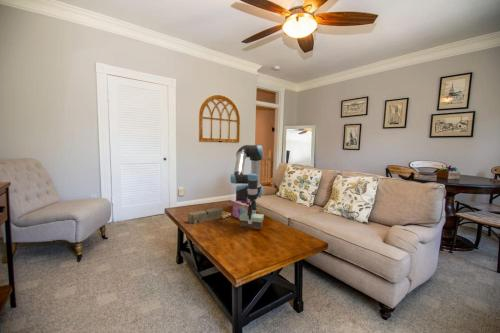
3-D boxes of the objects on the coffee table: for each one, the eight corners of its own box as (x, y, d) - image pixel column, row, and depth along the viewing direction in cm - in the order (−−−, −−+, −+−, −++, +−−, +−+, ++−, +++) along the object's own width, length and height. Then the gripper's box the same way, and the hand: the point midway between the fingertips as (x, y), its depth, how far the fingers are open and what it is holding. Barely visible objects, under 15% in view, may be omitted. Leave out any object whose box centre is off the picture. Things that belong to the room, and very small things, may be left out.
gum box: (231, 215, 201) (231, 200, 200) (238, 214, 206) (238, 199, 205) (248, 223, 183) (249, 206, 182) (255, 221, 188) (256, 205, 187)
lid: (242, 217, 181) (242, 212, 181) (263, 219, 177) (263, 214, 177) (239, 221, 171) (239, 216, 171) (261, 223, 167) (261, 218, 167)
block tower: (192, 225, 178) (223, 217, 196) (191, 215, 177) (223, 208, 195) (188, 222, 184) (218, 215, 202) (187, 212, 183) (218, 206, 201)
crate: (242, 224, 180) (243, 216, 179) (262, 226, 176) (262, 218, 176) (240, 227, 173) (240, 219, 172) (261, 229, 169) (261, 221, 169)
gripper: (251, 190, 185) (250, 215, 187) (243, 196, 161) (243, 225, 163) (260, 191, 184) (259, 216, 185) (253, 197, 159) (253, 226, 161)
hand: (251, 220), depth 174 cm, fingers open, 13 cm apart
